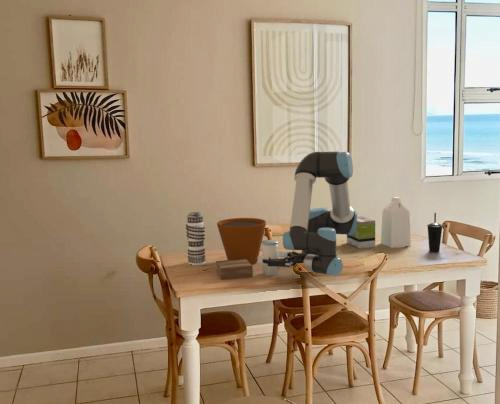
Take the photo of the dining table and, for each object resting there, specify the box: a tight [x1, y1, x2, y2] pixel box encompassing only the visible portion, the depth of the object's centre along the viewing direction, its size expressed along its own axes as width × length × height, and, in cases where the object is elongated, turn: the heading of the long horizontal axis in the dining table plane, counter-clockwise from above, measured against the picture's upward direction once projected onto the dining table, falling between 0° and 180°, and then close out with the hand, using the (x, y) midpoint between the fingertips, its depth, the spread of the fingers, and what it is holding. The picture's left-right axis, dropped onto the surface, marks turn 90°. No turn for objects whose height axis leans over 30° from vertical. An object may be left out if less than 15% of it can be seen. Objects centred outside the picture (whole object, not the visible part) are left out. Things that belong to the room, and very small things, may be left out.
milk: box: [380, 196, 412, 249], centre depth 302 cm, size 12×12×26 cm
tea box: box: [346, 215, 376, 249], centre depth 304 cm, size 15×10×15 cm
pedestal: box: [215, 259, 253, 280], centre depth 253 cm, size 14×14×5 cm
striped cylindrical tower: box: [185, 211, 206, 266], centre depth 274 cm, size 9×9×25 cm
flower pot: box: [216, 217, 267, 266], centre depth 274 cm, size 24×24×20 cm
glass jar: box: [261, 239, 280, 277], centre depth 251 cm, size 7×7×15 cm
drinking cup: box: [426, 212, 444, 254], centre depth 285 cm, size 8×8×20 cm
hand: (267, 256), depth 252 cm, fingers open, 13 cm apart
